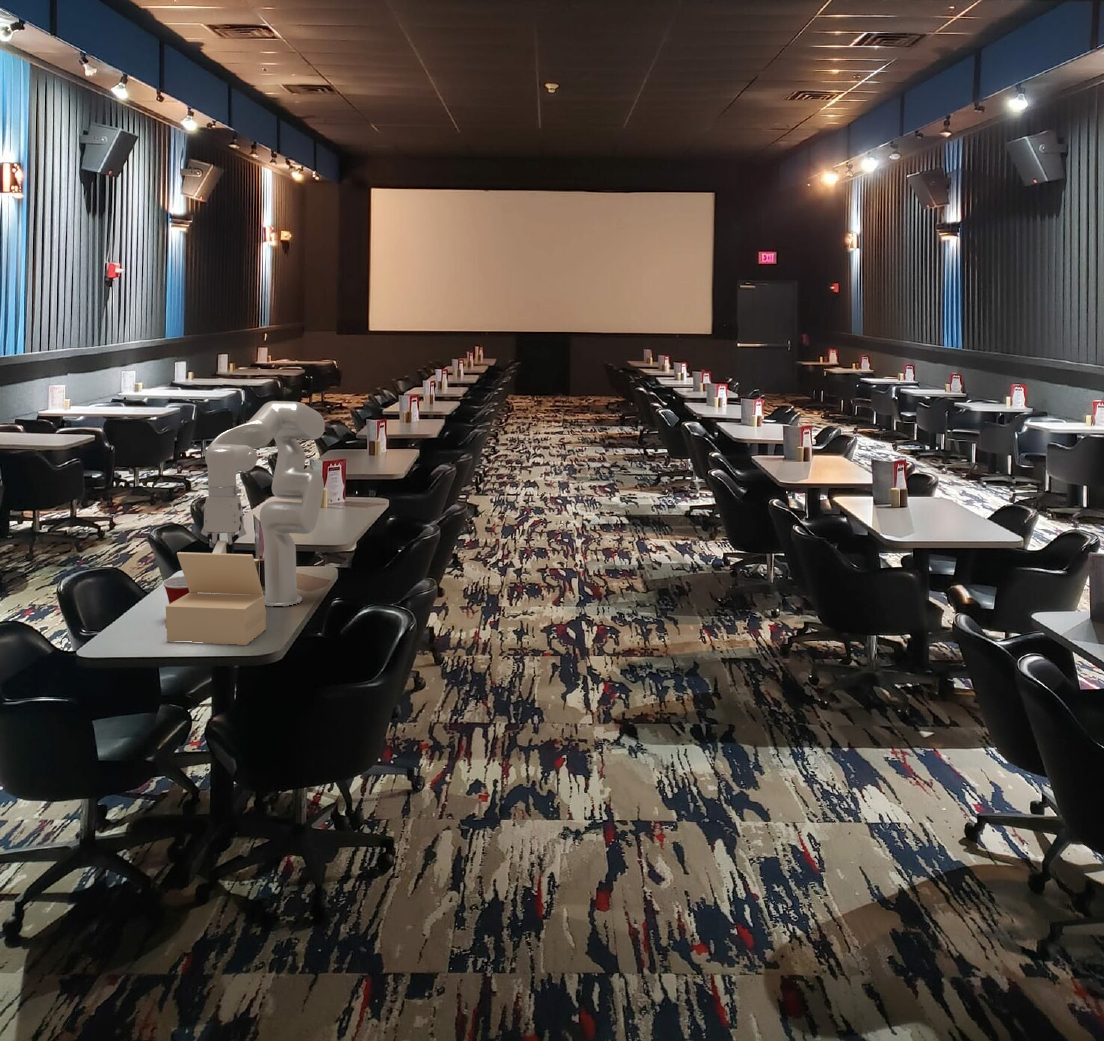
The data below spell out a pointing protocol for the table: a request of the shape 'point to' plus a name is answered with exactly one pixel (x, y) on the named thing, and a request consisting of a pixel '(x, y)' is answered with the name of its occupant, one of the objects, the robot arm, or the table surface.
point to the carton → (216, 618)
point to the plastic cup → (175, 588)
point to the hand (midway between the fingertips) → (224, 556)
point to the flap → (220, 572)
